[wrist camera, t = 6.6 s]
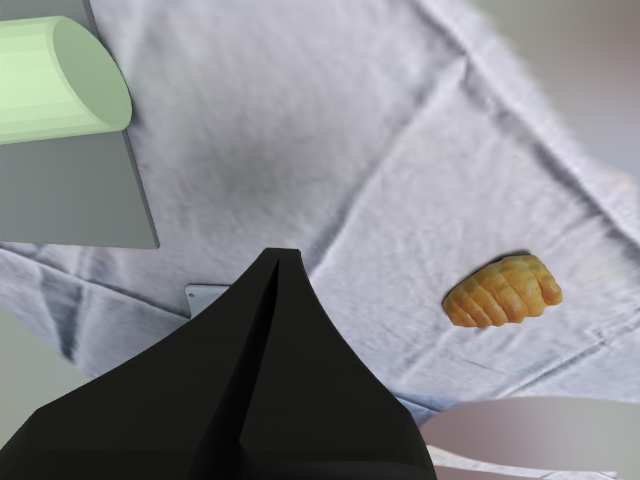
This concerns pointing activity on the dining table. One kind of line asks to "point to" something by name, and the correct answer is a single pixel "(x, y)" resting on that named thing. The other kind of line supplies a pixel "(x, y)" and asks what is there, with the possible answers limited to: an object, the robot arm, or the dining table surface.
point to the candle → (57, 82)
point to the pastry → (503, 293)
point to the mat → (71, 173)
